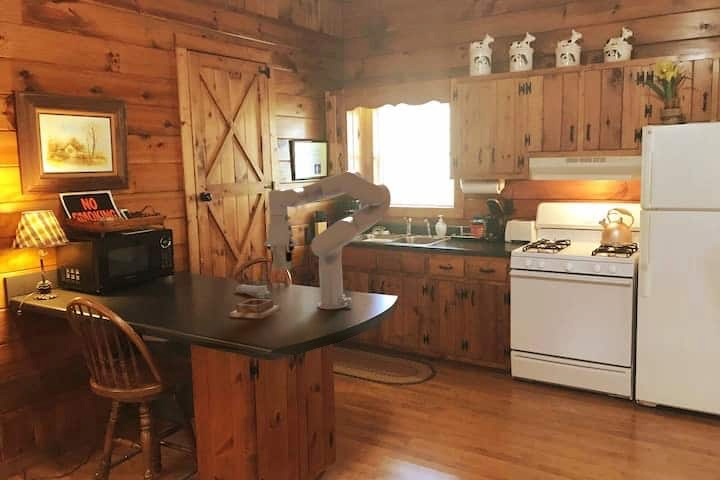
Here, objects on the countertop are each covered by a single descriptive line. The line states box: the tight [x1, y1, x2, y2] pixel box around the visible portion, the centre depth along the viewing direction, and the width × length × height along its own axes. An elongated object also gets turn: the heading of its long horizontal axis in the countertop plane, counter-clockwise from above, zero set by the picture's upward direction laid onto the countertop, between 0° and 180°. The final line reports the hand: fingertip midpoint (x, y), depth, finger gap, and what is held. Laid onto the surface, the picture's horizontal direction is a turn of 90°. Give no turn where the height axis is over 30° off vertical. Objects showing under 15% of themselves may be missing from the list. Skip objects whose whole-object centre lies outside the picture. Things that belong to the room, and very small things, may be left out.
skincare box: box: [272, 242, 292, 271], centre depth 255 cm, size 6×4×12 cm
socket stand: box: [229, 298, 281, 319], centre depth 247 cm, size 15×15×4 cm
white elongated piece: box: [235, 283, 271, 300], centre depth 281 cm, size 5×7×25 cm
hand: (281, 260), depth 255 cm, fingers closed on skincare box, 6 cm apart
